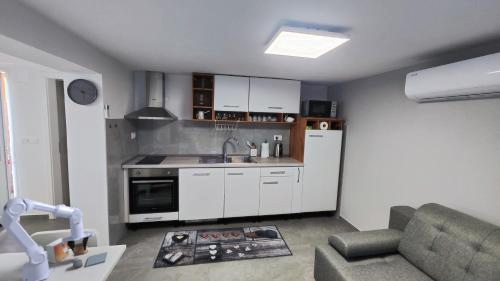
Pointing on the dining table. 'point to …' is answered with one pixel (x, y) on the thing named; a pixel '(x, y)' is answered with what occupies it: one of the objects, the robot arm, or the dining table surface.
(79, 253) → the walnut block
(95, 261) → the slate board
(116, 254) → the dining table surface
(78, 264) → the rubber puck
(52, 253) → the small box
